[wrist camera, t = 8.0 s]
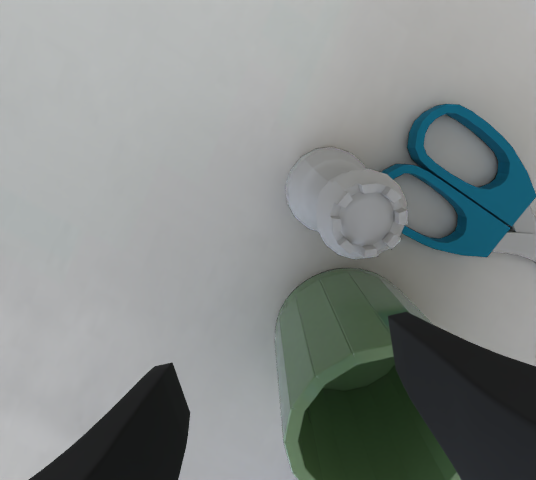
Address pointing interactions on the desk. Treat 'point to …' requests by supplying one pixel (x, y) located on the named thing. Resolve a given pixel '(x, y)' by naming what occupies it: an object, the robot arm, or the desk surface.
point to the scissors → (476, 193)
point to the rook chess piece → (346, 203)
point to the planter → (349, 384)
